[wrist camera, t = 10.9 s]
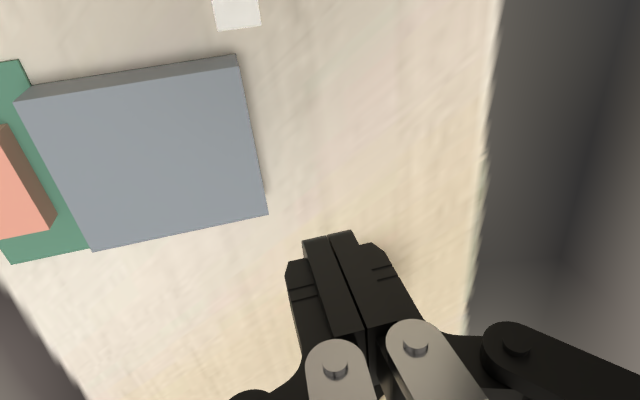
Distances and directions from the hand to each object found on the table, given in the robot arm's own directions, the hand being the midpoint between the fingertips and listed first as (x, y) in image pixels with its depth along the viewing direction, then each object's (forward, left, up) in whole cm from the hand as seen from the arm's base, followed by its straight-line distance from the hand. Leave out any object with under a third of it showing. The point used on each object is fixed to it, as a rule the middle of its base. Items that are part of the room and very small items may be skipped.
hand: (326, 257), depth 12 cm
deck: (+7, -9, -27) cm, 29 cm away
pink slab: (+7, -23, -25) cm, 35 cm away
